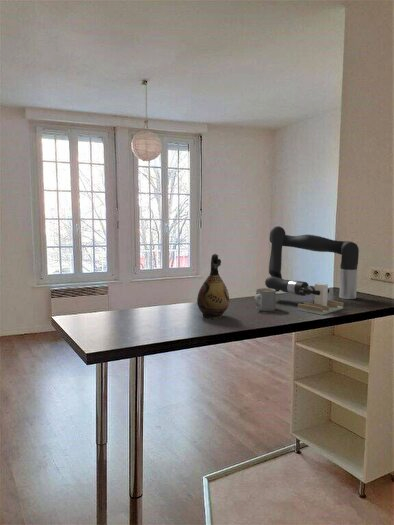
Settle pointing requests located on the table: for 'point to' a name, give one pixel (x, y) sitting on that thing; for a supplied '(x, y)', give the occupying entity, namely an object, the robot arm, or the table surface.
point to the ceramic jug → (213, 293)
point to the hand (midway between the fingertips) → (324, 292)
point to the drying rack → (320, 307)
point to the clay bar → (321, 294)
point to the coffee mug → (265, 299)
